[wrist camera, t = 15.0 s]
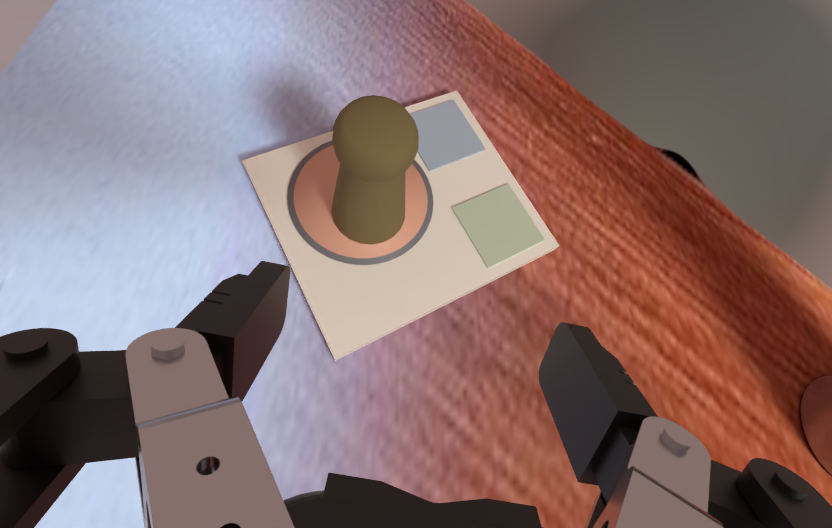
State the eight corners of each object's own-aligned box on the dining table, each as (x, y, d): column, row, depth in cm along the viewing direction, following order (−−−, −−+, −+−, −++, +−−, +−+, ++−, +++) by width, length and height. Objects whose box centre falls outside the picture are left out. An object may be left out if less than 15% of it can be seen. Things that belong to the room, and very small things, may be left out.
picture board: (454, 97, 40) (457, 88, 39) (553, 249, 36) (560, 244, 35) (244, 167, 34) (241, 158, 33) (335, 360, 30) (334, 358, 29)
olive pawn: (411, 188, 34) (437, 93, 24) (397, 252, 32) (420, 177, 22) (341, 171, 34) (338, 67, 24) (322, 234, 32) (310, 150, 21)
